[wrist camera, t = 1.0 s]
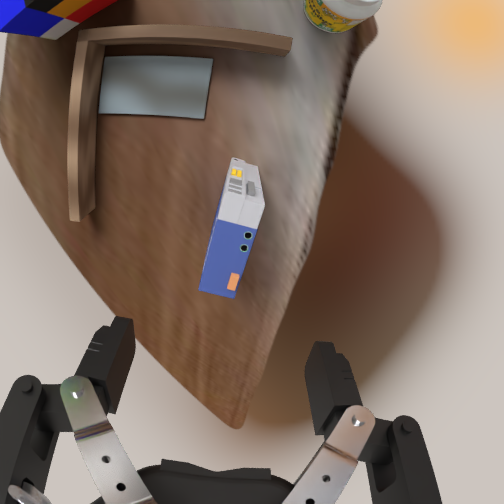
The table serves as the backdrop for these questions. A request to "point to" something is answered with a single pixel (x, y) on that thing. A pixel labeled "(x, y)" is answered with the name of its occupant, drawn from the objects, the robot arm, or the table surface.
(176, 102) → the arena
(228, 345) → the table surface
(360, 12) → the supplement bottle
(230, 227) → the walkman
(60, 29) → the puzzle toy
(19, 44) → the table surface
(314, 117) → the table surface
